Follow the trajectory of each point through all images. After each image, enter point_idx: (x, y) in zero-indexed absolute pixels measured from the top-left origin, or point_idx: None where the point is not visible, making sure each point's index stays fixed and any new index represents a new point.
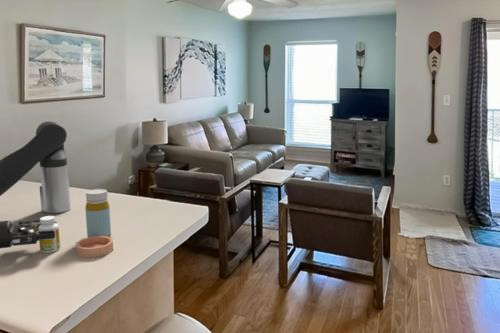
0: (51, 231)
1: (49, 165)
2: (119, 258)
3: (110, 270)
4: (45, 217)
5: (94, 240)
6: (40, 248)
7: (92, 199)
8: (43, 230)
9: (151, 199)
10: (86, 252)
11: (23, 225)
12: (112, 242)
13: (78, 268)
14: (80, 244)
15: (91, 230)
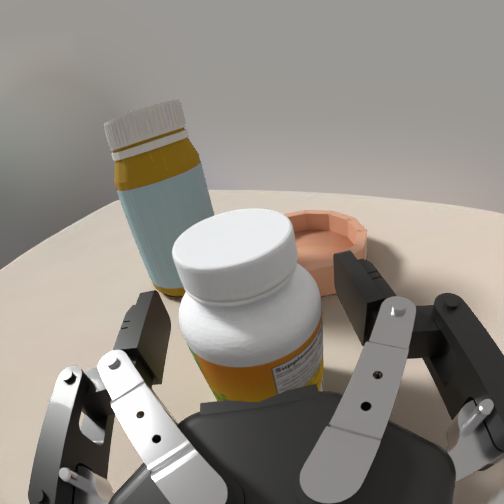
0: (354, 256)
1: None
2: (363, 216)
3: (428, 215)
4: (213, 245)
5: None
6: None
7: (177, 122)
8: (319, 307)
9: (28, 251)
10: (365, 248)
11: (214, 470)
12: (307, 211)
13: (443, 258)
14: None
15: None
